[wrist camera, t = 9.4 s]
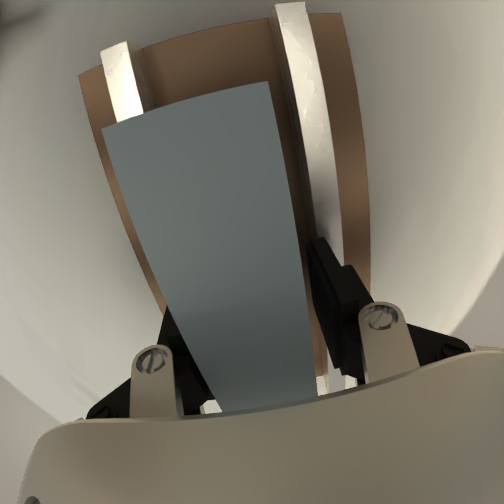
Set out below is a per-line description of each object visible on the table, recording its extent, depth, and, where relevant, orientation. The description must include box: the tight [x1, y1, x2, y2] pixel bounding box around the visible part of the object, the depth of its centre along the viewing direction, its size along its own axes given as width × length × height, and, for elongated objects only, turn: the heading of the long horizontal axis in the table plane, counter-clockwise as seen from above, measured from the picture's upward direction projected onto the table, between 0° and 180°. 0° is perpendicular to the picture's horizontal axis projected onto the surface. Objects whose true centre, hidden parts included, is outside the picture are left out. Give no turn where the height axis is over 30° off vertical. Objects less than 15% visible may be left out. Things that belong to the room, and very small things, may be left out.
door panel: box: [101, 81, 318, 412], centre depth 11 cm, size 14×3×7 cm, turn 12°
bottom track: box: [78, 2, 370, 394], centre depth 14 cm, size 20×11×3 cm, turn 12°
